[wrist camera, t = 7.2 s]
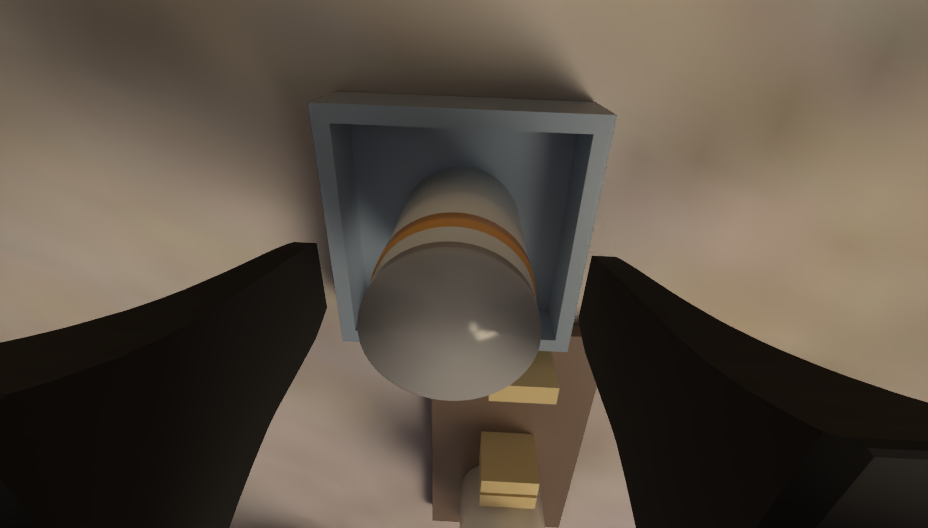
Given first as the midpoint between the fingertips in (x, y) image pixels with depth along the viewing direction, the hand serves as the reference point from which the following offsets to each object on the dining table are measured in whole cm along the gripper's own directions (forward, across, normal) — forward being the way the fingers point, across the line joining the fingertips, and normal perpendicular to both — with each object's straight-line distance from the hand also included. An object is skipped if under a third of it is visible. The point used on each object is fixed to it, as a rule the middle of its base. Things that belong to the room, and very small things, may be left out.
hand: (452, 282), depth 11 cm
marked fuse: (+4, 0, 0) cm, 4 cm away
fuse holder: (+4, -2, +11) cm, 12 cm away
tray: (+4, 0, 0) cm, 4 cm away
